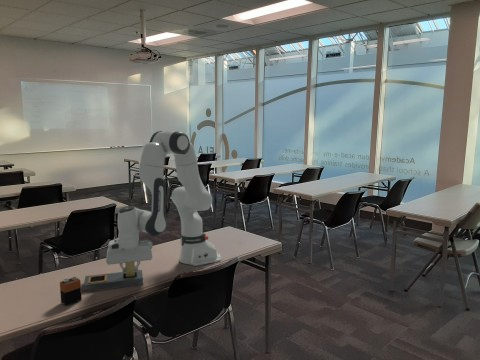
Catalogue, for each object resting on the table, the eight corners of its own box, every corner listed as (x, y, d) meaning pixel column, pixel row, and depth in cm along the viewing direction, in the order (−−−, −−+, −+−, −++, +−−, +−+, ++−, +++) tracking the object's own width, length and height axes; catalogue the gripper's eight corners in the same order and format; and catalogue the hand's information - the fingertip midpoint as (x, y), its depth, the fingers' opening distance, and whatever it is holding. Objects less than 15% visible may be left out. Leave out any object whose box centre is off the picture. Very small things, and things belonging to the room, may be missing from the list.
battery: (60, 302, 152) (59, 279, 150) (76, 296, 157) (75, 274, 155) (65, 306, 149) (64, 282, 147) (82, 300, 154) (80, 277, 153)
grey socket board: (142, 275, 178) (141, 269, 178) (143, 284, 169) (142, 277, 169) (85, 282, 171) (85, 275, 170) (83, 291, 162) (83, 284, 161)
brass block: (135, 276, 175) (134, 258, 173) (135, 280, 171) (134, 261, 169) (126, 277, 173) (125, 259, 172) (126, 281, 170) (125, 262, 168)
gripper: (151, 237, 175) (152, 265, 178) (105, 242, 169) (107, 270, 171) (152, 241, 169) (153, 270, 172) (105, 246, 163) (106, 276, 166)
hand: (130, 270), depth 171 cm, fingers closed on brass block, 4 cm apart
